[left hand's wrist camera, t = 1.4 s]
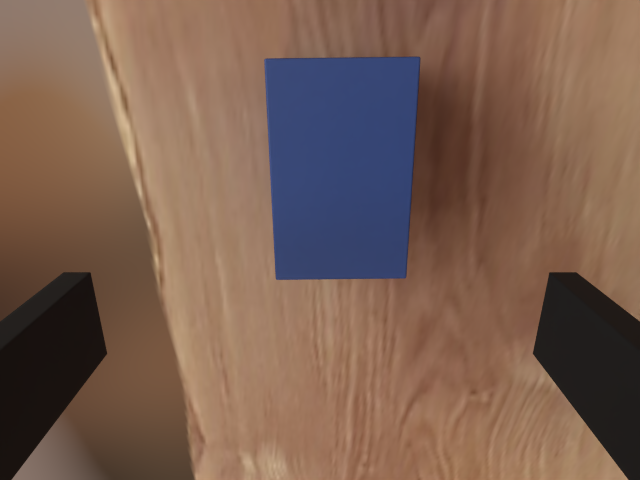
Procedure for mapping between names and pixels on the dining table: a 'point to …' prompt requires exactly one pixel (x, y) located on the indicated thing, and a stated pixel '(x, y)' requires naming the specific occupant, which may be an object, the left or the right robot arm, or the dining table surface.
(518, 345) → the dining table surface
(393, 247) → the block
